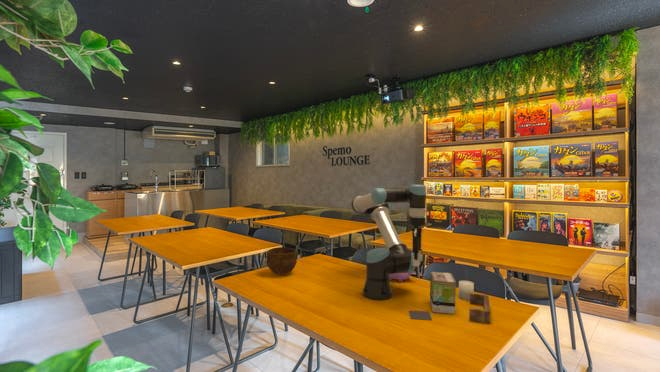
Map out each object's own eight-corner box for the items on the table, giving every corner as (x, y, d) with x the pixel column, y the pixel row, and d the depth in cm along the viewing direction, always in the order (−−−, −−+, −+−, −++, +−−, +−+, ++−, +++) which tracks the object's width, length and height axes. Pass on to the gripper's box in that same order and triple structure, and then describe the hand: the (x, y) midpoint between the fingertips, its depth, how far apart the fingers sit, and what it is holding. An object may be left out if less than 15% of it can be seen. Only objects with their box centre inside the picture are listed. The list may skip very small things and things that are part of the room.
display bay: (469, 320, 144) (469, 309, 144) (470, 302, 164) (470, 292, 164) (489, 324, 141) (490, 312, 141) (488, 305, 161) (488, 295, 161)
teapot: (422, 279, 201) (422, 256, 200) (411, 286, 188) (412, 262, 188) (388, 272, 214) (389, 251, 213) (376, 278, 201) (377, 256, 201)
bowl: (295, 278, 200) (295, 253, 200) (263, 278, 201) (263, 253, 200) (298, 269, 219) (298, 247, 219) (269, 269, 219) (269, 246, 219)
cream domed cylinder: (458, 299, 169) (458, 283, 169) (458, 295, 175) (459, 279, 175) (473, 301, 166) (473, 285, 166) (473, 297, 172) (473, 281, 172)
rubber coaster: (410, 320, 145) (410, 318, 145) (408, 312, 154) (408, 310, 154) (432, 321, 144) (432, 319, 144) (429, 313, 153) (429, 311, 153)
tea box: (455, 314, 151) (456, 281, 150) (432, 312, 153) (433, 280, 152) (450, 302, 165) (451, 272, 165) (429, 300, 167) (430, 270, 167)
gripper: (423, 219, 153) (422, 270, 154) (427, 215, 168) (426, 261, 169) (406, 218, 156) (405, 268, 157) (412, 214, 171) (411, 260, 172)
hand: (416, 264), depth 163 cm, fingers open, 3 cm apart
